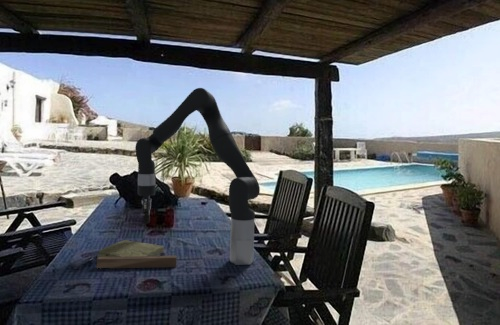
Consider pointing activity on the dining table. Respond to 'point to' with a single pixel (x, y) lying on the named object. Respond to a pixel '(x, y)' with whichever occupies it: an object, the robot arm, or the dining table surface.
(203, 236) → the dining table surface
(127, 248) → the olive stone slab
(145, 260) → the walnut rail
